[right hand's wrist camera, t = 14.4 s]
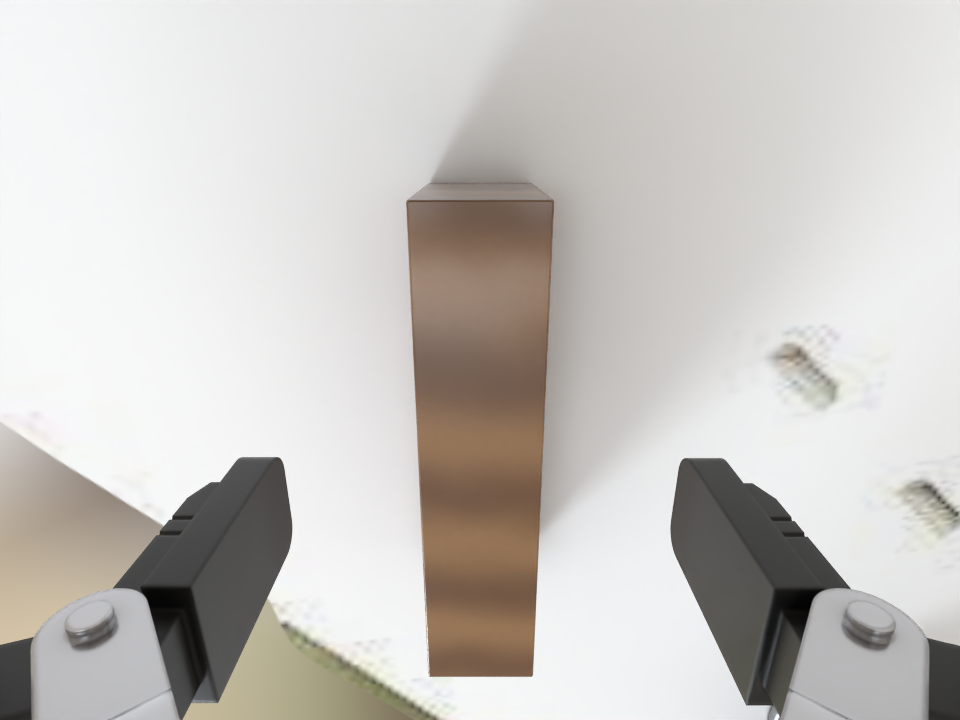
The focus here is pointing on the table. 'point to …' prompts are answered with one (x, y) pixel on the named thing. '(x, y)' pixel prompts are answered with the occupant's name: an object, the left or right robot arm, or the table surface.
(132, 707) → the right robot arm
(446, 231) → the box
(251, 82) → the table surface
